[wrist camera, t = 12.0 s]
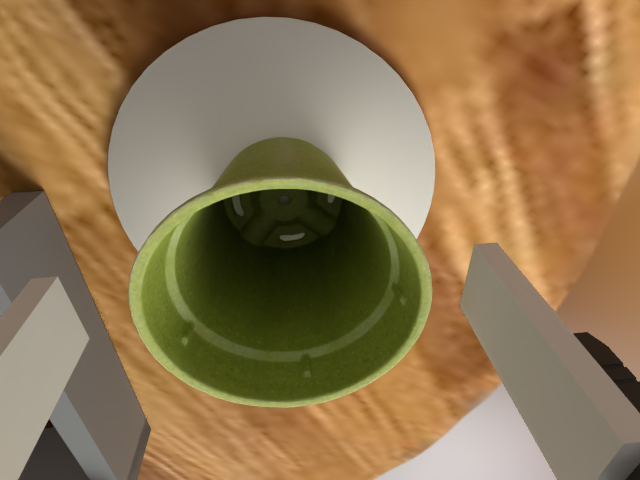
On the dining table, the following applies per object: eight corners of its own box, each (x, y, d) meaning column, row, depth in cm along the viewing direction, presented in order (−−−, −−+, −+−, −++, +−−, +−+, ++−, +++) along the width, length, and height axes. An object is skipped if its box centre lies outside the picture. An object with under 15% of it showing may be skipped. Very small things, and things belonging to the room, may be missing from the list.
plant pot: (217, 284, 22) (190, 427, 15) (154, 119, 17) (65, 215, 10) (380, 254, 22) (432, 383, 15) (365, 80, 17) (433, 147, 10)
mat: (58, 23, 15) (51, 24, 15) (454, 10, 16) (459, 10, 16) (158, 320, 24) (156, 327, 24) (414, 299, 25) (416, 305, 25)
